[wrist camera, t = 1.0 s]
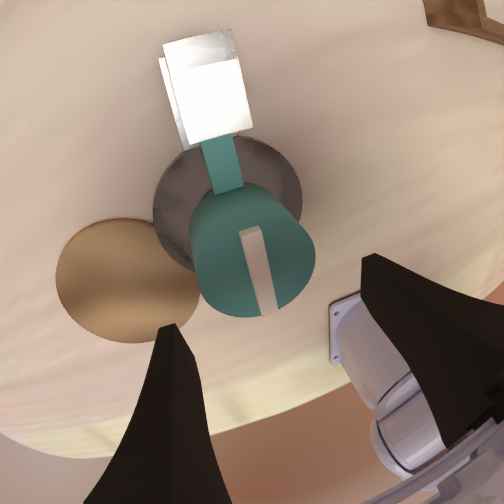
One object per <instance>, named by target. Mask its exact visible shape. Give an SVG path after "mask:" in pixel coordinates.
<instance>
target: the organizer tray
mask: <svg viewBox="0 0 504 504" xmlns="http://www.w3.org/2000/svg"><path fill="white" fill-rule="evenodd" d="M423 1H424V6H425V11H426V16H427V21H428V26H431V27H436V28H441V29H446V30H451V31H455V32H459V33H463V34H467V35H471V36H475V37H478V38H482V39H485V40H488V41H492V42H495V43H498V44H501V45H504V25H503V24H501V23H499V22H497V21H494V20H492V19H490V18H487V16H486V11H485V6H484V1H483V0H423Z"/></svg>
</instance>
